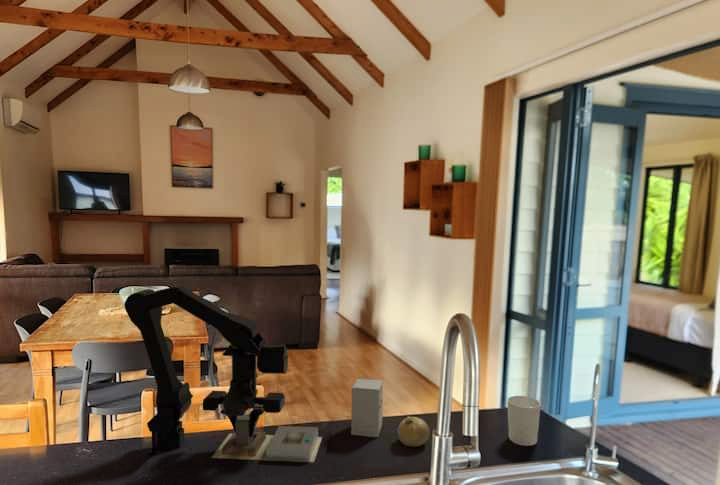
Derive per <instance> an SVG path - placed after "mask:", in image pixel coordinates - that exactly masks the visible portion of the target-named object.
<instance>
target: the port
mask: <svg viewBox="0 0 720 485" xmlns="http://www.w3.org/2000/svg"><path fill="white" fill-rule="evenodd" d="M273 435H274V436H273V438H272V440H271V442H270V444H269V446H268V447H267V449H266V460H265V461H272V460H277V461H278V462H295V461H300V462H299V463H301V462H302V463H311V462H310V459H311V456H312V454H313V451H314V448H315V445H316V442H317V439H318V437H319V427H317V426H316V427H315V426H295V425H294V426H289V425H278V427H277V429H276V431H275V433H274V434H273ZM287 442H301V444H286V443H287ZM277 461H276V462H277Z"/></svg>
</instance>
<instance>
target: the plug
mask: <svg viewBox="0 0 720 485" xmlns="http://www.w3.org/2000/svg"><path fill="white" fill-rule="evenodd" d="M250 412H251V411H246V413H245V414H244V415H242V416H238V415H237V420H236V422H235V426H236V446H251V444H252V443H253V441H254V433H253V436H252V437H250V422H251V416H250Z"/></svg>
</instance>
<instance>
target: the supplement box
mask: <svg viewBox="0 0 720 485" xmlns="http://www.w3.org/2000/svg"><path fill="white" fill-rule="evenodd" d="M383 387H384V385H383V380H380V379H379V380H377V379H366V378H364V379H363V378H357V379H356V380H355V382H354V384H353V386H352V387H351V421H350V422H351V423H350V424H351V425H350V427H351V428H350V429H351V430H350V434H351V435H352V436H360V437H369V438H370V437H371V438H379V435H380V431H381V429H382V426H383Z"/></svg>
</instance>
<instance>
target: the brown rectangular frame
mask: <svg viewBox="0 0 720 485" xmlns="http://www.w3.org/2000/svg"><path fill="white" fill-rule="evenodd" d="M231 434H232V436H231V437H230V438H229V440H228V441H227V442H226V444H225V445H224V446H223V448H222V455H241V456H256V455H257V453H258V451H259V449H260V448H261V446H262V444H263V442H264V441H265V439H266V435H267V431H254V441H253V443H252V444H251V446H236V433H235V431H234V432H233V433H231Z"/></svg>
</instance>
